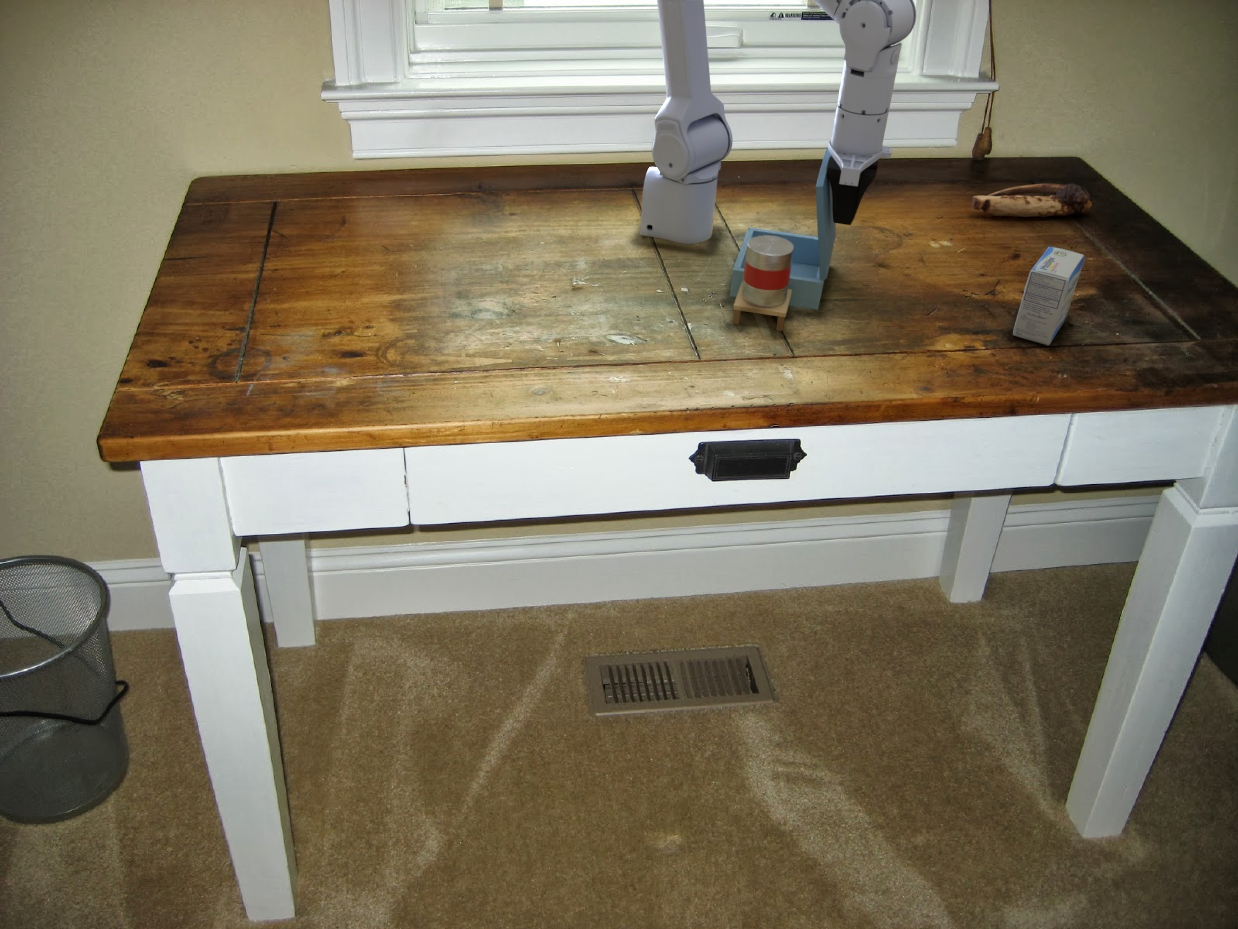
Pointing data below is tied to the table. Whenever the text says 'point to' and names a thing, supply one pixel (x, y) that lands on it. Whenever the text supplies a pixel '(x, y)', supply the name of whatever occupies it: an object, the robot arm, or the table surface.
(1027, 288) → the medicine box
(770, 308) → the stool
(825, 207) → the lid
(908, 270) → the table surface
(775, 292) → the can
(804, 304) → the cooler
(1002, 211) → the lashed bone hook
